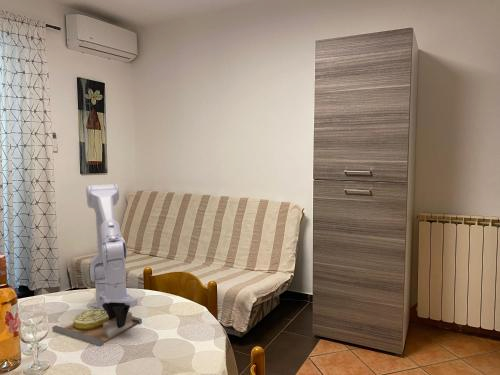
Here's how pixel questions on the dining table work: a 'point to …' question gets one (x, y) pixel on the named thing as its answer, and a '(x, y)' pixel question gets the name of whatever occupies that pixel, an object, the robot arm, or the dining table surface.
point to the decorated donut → (90, 319)
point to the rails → (82, 336)
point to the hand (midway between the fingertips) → (118, 325)
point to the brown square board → (107, 329)
